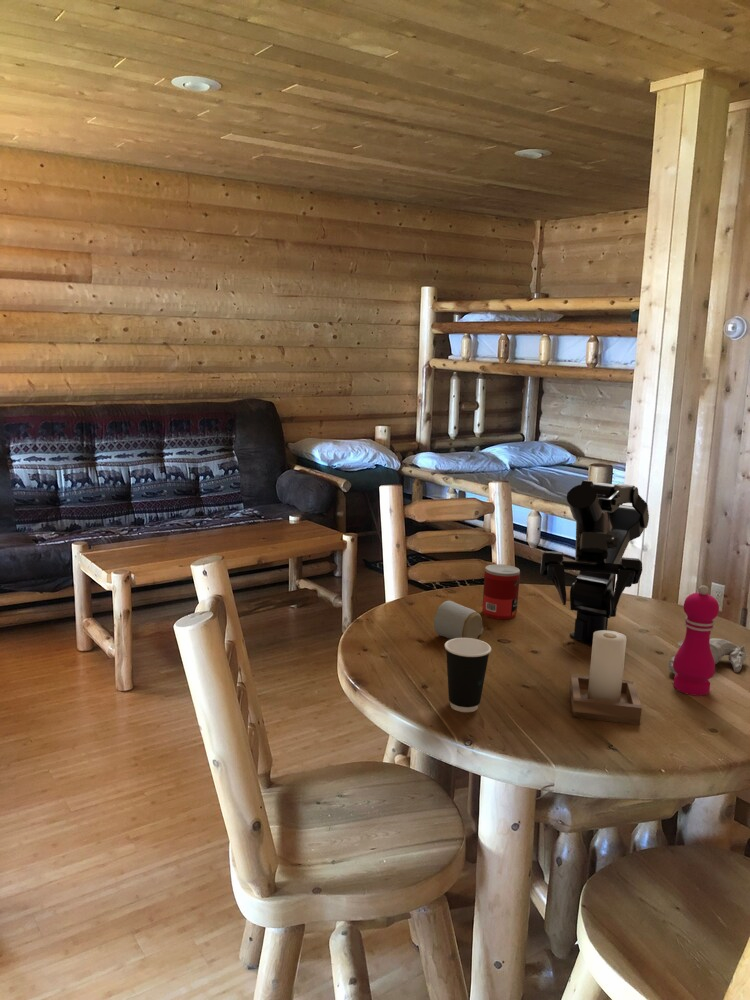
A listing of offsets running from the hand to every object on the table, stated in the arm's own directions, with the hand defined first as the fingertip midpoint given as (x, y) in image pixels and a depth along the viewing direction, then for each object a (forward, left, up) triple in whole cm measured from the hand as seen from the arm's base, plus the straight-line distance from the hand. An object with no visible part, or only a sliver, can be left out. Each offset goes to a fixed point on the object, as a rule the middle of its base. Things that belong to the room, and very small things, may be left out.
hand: (589, 606), depth 151 cm
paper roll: (+7, +12, -13) cm, 19 cm away
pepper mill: (-14, +14, -14) cm, 24 cm away
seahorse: (-25, +9, -14) cm, 30 cm away
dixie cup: (+29, +1, -14) cm, 32 cm away
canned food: (-7, -34, -14) cm, 37 cm away
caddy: (+7, +12, -14) cm, 19 cm away
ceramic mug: (+10, -26, -14) cm, 31 cm away
